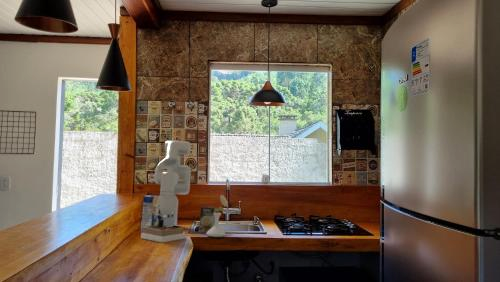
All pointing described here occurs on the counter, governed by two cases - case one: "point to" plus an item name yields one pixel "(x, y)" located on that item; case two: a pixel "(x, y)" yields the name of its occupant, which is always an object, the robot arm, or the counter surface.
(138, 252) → the counter surface
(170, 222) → the tall pale blue box
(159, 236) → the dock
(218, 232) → the flower in vase
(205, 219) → the coffee box
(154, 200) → the beverage box
